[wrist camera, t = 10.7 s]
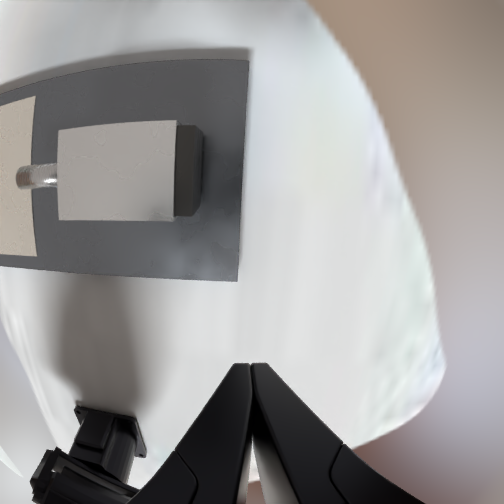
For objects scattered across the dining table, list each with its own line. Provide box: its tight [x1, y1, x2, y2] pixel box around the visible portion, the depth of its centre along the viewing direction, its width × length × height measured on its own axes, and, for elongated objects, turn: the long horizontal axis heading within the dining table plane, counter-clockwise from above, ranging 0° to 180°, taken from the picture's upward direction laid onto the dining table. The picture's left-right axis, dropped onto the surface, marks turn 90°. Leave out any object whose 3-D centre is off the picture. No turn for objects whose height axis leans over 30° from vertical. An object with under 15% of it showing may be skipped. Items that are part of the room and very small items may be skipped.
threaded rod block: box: [16, 120, 203, 222], centre depth 14 cm, size 4×11×4 cm, turn 87°
